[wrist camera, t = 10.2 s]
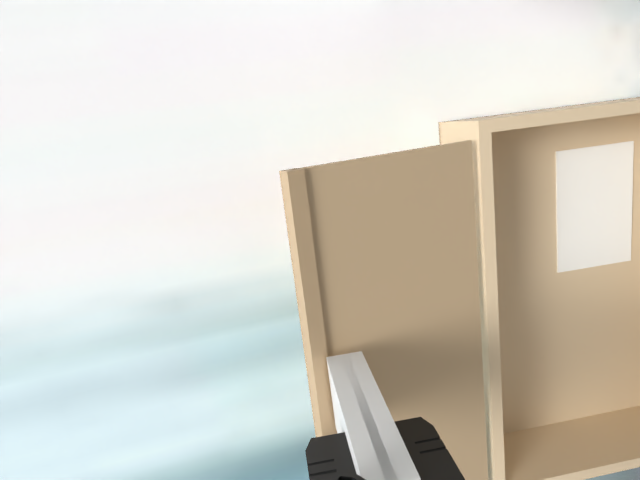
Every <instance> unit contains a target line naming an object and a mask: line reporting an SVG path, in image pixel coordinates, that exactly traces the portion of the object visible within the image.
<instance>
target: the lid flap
mask: <svg viewBox="0 0 640 480" xmlns="http://www.w3.org/2000/svg"><path fill="white" fill-rule="evenodd" d="M279 172H280V180H281V187H282V194H283V201H284V209H285V216H286V223H287V230H288V238H289V245H290V252H291V259H292V267H293V274H294V281H295V288H296V296H297V303H298V310H299V317H300V325H301V332H302V339H303V346H304V354H305V361H306V368H307V375H308V383H309V390H310V397H311V404H312V412H313V419H314V426H315V434H316V437H321V436H326V435H332V434H337V430H336V425H335V418H334V410H333V403H332V396H331V388H330V381H329V373H328V366H327V359H326V357H330V356H336V355H342V354H347V353H353V352H359V351H362V353H363V355H364V357H365V360H366V362H367V364H368V366H369V368H370V370H371V372H372V375H373V377H374V379H375V381H376V383H377V385H378V388H379V390H380V392H381V394H382V396H383V398H384V401H385V403H386V405H387V407H388V409H389V411H390V414H391V416H392V418H393V420H394V422H395V421H400V420H405V419H411V418H416V417H422V418H423V419H425V420H426V421H428V422H429V423H430V424H432V425H433V426H434V428H435V429H436V431H437V433H438V434H439V436H440V439H442V441H443V443H444V445H445V446H446V449H447V450H448V451H449V453H450V455H451V456H452V458H453V460H454V461H455V463H456V465H457V467H458V468H459V470H460V472H461V473H462V475H463V477H464V478H465V480H488V463H487V443H486V422H485V402H484V382H483V361H482V341H481V321H480V300H479V280H478V260H477V240H476V219H475V199H474V179H473V158H472V140H466V141H460V142H454V143H448V144H442V145H436V146H430V147H424V148H418V149H412V150H406V151H400V152H394V153H388V154H381V155H375V156H369V157H363V158H357V159H351V160H345V161H339V162H333V163H327V164H321V165H315V166H309V167H303V168H294V169H288V170H282V171H279Z"/></svg>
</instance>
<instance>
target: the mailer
mask: <svg viewBox="0 0 640 480" xmlns="http://www.w3.org/2000/svg"><path fill="white" fill-rule="evenodd" d="M439 136H440V145H442V144H448V143H454V142H460V141H466V140H472V158H473V179H474V199H475V219H476V240H477V260H478V280H479V300H480V321H481V341H482V361H483V382H484V402H485V422H486V443H487V463H488V480H584V479H588V478H593V477H597V476H602V475H606V474H611V473H615V472H619V471H624V470H628V469H633V468H637V467H640V97H636V98H628V99H620V100H612V101H604V102H596V103H589V104H581V105H573V106H565V107H557V108H549V109H541V110H533V111H525V112H518V113H510V114H502V115H494V116H486V117H478V118H470V119H462V120H455V121H447V122H439Z"/></svg>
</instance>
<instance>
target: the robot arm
mask: <svg viewBox="0 0 640 480" xmlns="http://www.w3.org/2000/svg"><path fill="white" fill-rule="evenodd" d="M326 359H327V366H328V373H329V381H330V388H331V396H332V403H333V410H334V418H335V425H336V430H337V434H332V435H326V436H321V437H316V438H311V440H310V442H309V444H308V446H307V449H306V457H307V464H308V471H309V478H310V480H465V478H464V477H463V475H462V473H461V472H460V470H459V468H458V467H457V465H456V463H455V461H454V460H453V458H452V456H451V455H450V453H449V451H448V450H447V449H446V446H445V445H444V443H443V441H442V439H440V436H439V434H438V433H437V431H436V429H435V428H434V426H433V425H432V424H430V423H429V422H428V421H426V420H425V419H423V418H422V417H416V418H411V419H405V420H400V421H395V422H394V420H393V418H392V416H391V414H390V411H389V409H388V407H387V405H386V403H385V401H384V398H383V396H382V394H381V392H380V390H379V388H378V385H377V383H376V381H375V379H374V377H373V375H372V372H371V370H370V368H369V366H368V364H367V362H366V360H365V357H364V355H363V353H362V351H359V352H353V353H347V354H342V355H336V356H330V357H326Z"/></svg>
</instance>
